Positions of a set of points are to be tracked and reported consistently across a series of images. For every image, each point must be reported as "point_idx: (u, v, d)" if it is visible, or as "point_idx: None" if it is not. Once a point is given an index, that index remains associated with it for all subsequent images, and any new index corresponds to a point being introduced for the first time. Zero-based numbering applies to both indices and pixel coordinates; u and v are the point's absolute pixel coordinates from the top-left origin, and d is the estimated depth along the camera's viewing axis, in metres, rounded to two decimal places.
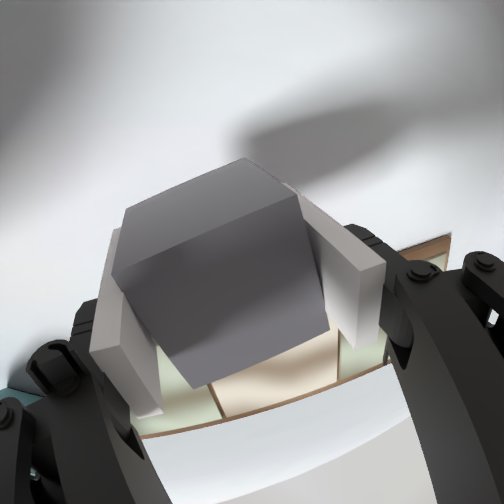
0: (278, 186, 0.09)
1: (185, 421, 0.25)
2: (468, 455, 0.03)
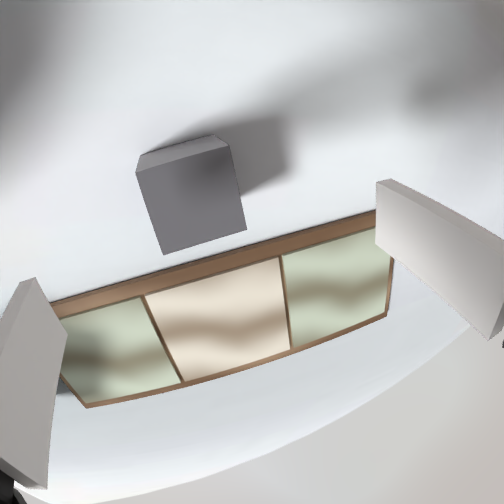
0: (222, 143, 0.17)
1: (146, 384, 0.28)
2: None
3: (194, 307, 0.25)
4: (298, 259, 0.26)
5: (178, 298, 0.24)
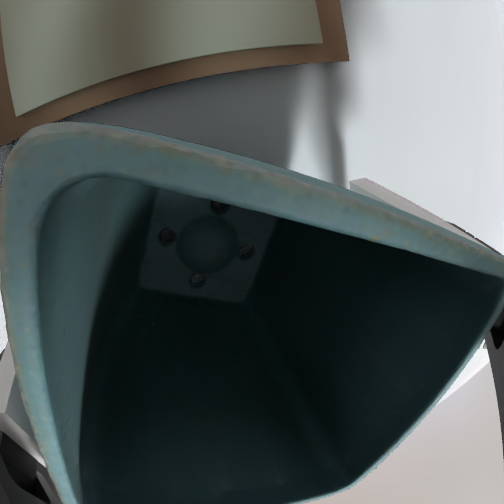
0: None
1: None
2: None
3: None
4: None
5: None
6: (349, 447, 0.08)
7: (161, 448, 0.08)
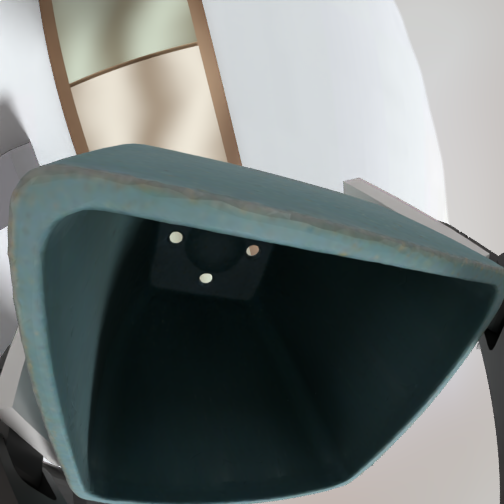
0: None
1: None
2: None
3: None
4: (74, 66, 0.19)
5: None
6: (347, 443, 0.09)
7: (167, 440, 0.08)
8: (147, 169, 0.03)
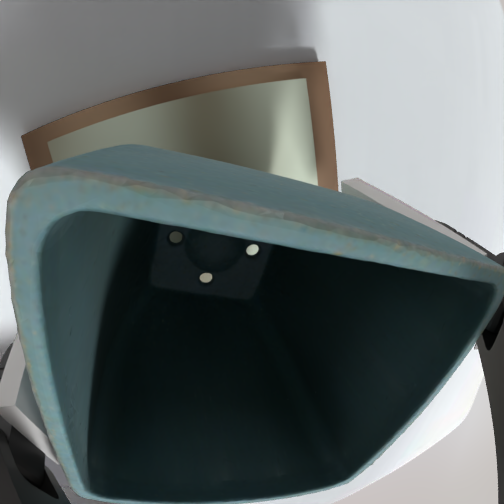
0: None
1: None
2: None
3: None
4: None
5: None
6: (347, 442, 0.09)
7: (166, 439, 0.08)
8: (142, 170, 0.03)
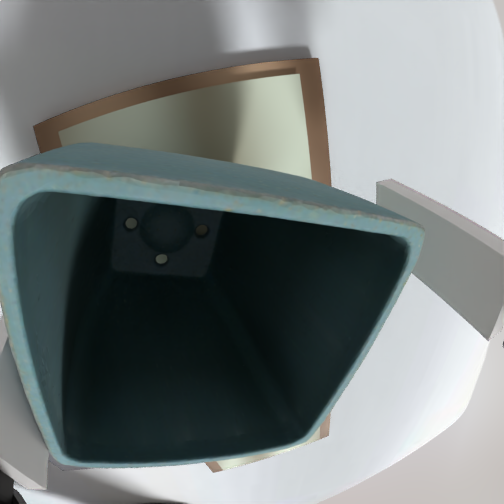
0: None
1: None
2: None
3: None
4: None
5: None
6: (299, 401, 0.10)
7: (133, 405, 0.09)
8: (81, 161, 0.04)
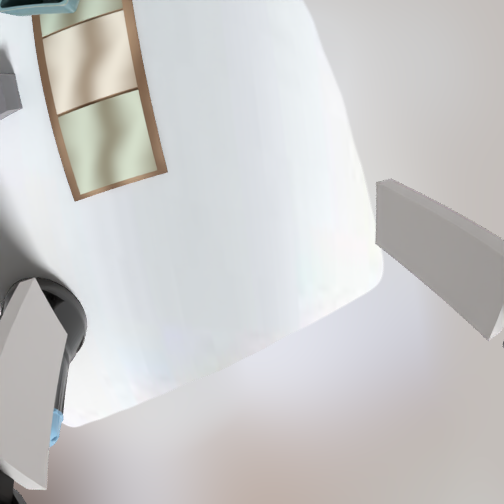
0: None
1: (135, 116, 0.34)
2: None
3: (67, 83, 0.30)
4: (46, 26, 0.25)
5: (60, 93, 0.30)
6: None
7: (24, 9, 0.19)
8: None
